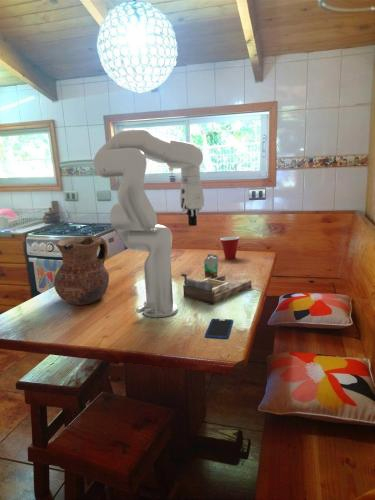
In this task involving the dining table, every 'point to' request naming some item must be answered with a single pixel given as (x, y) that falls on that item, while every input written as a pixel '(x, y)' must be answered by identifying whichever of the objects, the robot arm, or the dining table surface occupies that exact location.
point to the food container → (211, 266)
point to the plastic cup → (229, 246)
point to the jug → (82, 270)
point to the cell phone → (219, 328)
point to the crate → (217, 285)
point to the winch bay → (211, 294)
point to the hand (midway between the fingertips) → (192, 225)
